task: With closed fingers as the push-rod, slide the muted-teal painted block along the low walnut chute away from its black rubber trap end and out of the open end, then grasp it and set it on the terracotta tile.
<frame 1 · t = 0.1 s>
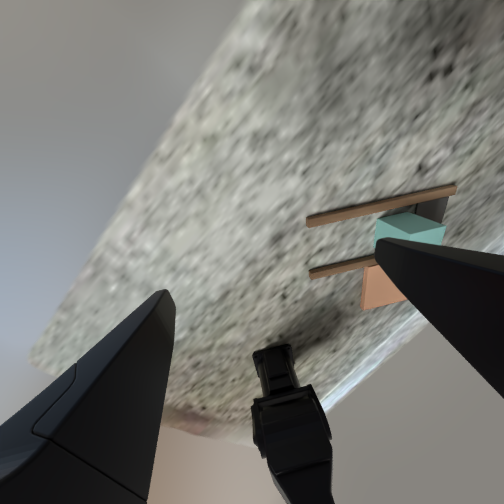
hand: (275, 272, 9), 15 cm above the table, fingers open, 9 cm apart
tile: (387, 280, 30), on the table
block: (389, 229, 26), on the table
chute: (375, 233, 26), on the table
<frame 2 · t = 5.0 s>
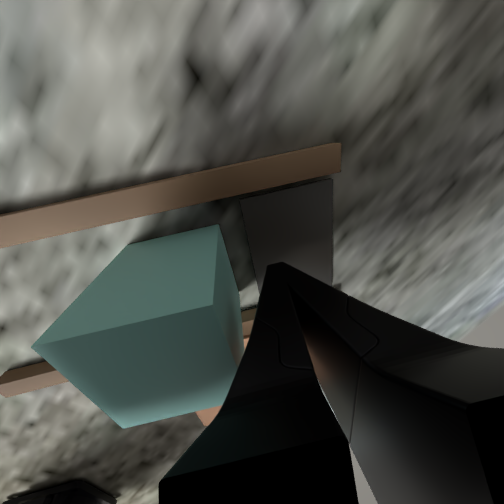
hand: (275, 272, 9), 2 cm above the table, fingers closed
tile: (245, 369, 14), on the table
block: (188, 272, 10), on the table, touching gripper
chute: (149, 282, 10), on the table
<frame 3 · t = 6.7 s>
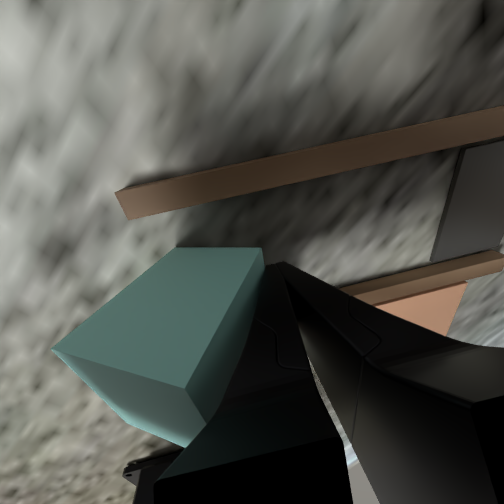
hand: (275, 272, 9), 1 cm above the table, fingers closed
tile: (383, 334, 14), on the table
block: (226, 285, 9), point 1 cm above the table, tilted 27°, touching gripper
chute: (348, 235, 10), on the table
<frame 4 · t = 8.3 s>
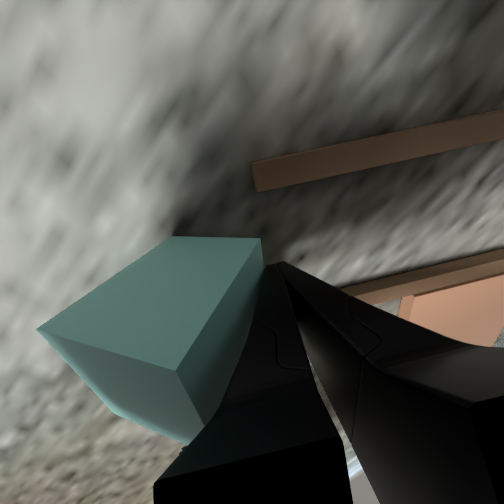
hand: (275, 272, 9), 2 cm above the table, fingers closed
tile: (446, 318, 15), on the table
block: (222, 277, 9), point 1 cm above the table, tilted 27°, touching gripper
chute: (438, 215, 10), on the table
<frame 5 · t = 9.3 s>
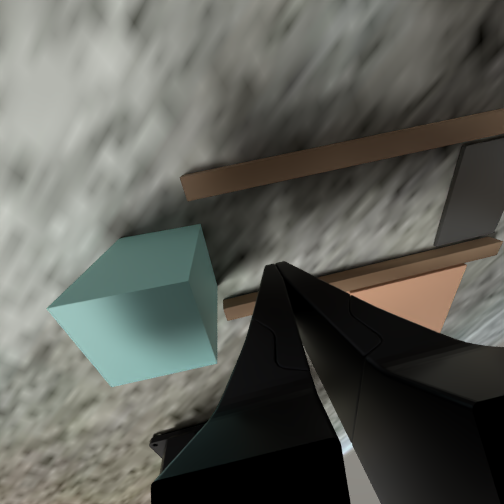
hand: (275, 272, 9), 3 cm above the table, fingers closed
tile: (391, 314, 16), on the table
block: (173, 264, 11), on the table
chute: (364, 220, 12), on the table
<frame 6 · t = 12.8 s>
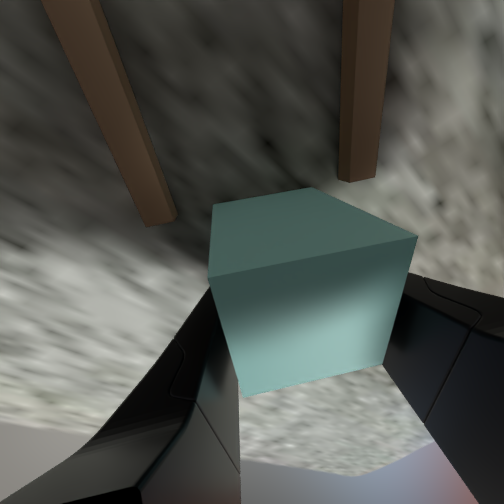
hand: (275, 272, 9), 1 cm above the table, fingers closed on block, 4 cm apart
block: (268, 240, 9), on the table, touching gripper
when the fingers open (2 cm above the table, at t = 16.9 s): block stays where it is, resting on tile.
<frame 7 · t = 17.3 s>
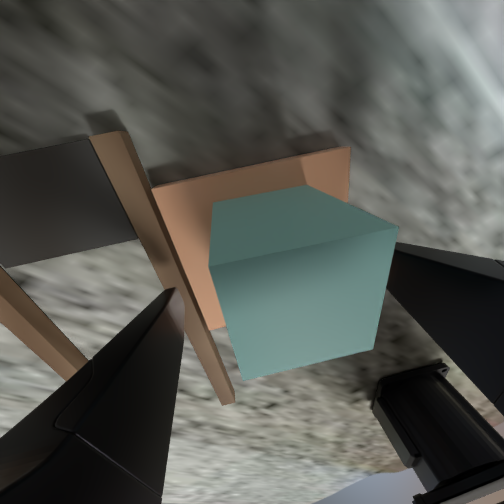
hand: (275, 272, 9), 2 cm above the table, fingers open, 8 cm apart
tile: (264, 247, 11), on the table
block: (266, 236, 9), point 1 cm above the table, touching tile
chute: (127, 326, 12), on the table
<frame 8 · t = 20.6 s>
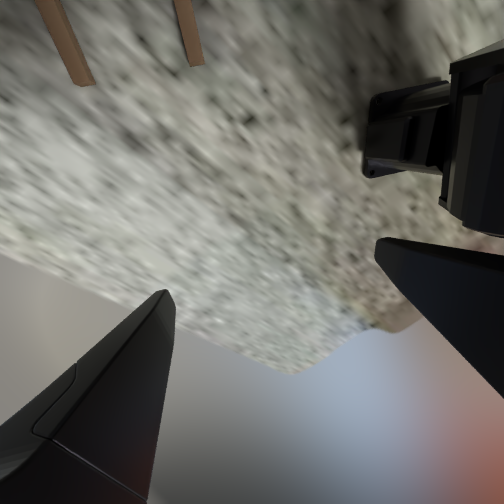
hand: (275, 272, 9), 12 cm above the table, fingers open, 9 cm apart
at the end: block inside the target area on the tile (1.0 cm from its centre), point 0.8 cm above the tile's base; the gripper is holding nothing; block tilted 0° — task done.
